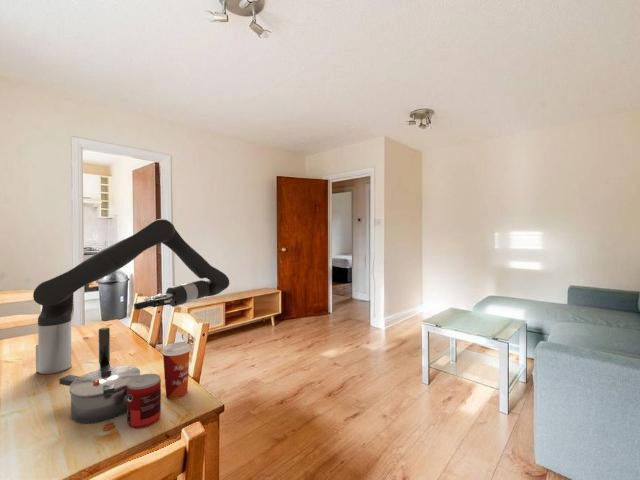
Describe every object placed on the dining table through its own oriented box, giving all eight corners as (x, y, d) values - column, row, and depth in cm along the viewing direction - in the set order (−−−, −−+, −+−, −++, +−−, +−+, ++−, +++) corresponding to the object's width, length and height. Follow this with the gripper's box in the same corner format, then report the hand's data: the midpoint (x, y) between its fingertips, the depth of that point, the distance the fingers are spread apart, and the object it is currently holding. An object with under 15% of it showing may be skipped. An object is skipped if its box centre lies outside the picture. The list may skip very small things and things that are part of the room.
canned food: (136, 412, 86) (135, 373, 85) (165, 411, 86) (165, 372, 86) (120, 430, 78) (120, 387, 78) (153, 428, 79) (153, 386, 78)
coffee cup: (179, 402, 91) (179, 352, 91) (155, 399, 93) (155, 349, 92) (196, 388, 99) (196, 342, 99) (174, 385, 101) (174, 340, 101)
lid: (145, 387, 85) (145, 342, 85) (67, 408, 75) (67, 357, 74) (134, 360, 103) (134, 323, 103) (70, 373, 93) (70, 332, 93)
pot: (161, 397, 93) (161, 375, 93) (114, 430, 78) (114, 403, 78) (90, 386, 100) (90, 365, 100) (34, 414, 85) (33, 389, 84)
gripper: (193, 304, 115) (146, 319, 101) (174, 302, 123) (127, 316, 109) (190, 285, 115) (142, 297, 101) (171, 284, 122) (124, 295, 108)
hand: (135, 306), depth 105 cm, fingers closed
